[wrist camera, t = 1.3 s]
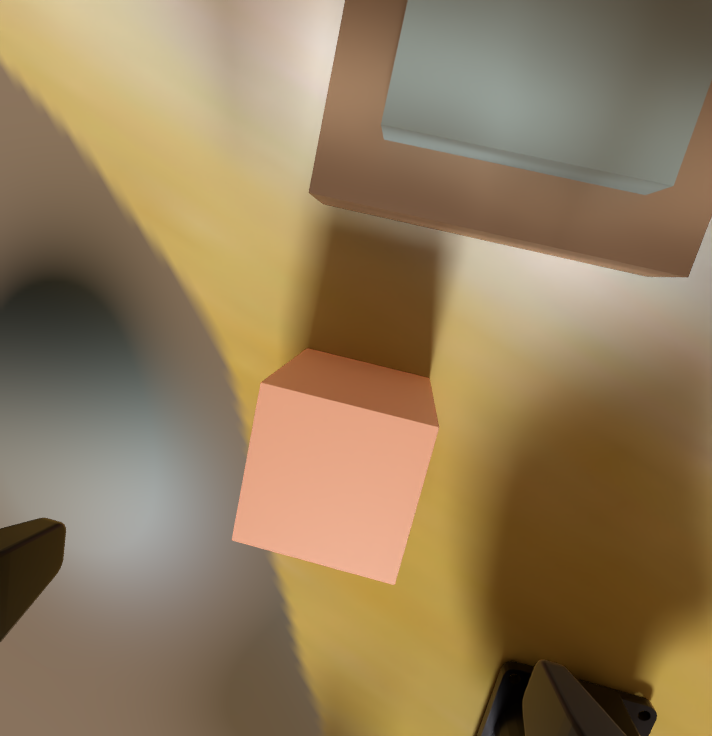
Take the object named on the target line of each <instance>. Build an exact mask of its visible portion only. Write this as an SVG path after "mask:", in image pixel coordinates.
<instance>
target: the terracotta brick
mask: <svg viewBox="0 0 712 736" xmlns="http://www.w3.org/2000/svg"><path fill="white" fill-rule="evenodd" d="M438 430H439V424H438V419H437V414H436V409H435V404H434V399H433V393H432V388H431V383H430V378H427V377H423V376H419V375H415V374H411V373H407V372H403V371H399V370H395V369H391V368H387V367H382V366H378V365H374V364H370V363H366V362H362V361H358V360H354V359H350V358H346V357H342V356H338V355H334V354H330V353H326V352H321V351H317V350H313V349H309V348H307V349H305V350H304V351H303V352H301V353H300V354H299V355H297V356H296V357H295V358H293V359H292V360H291V361H289V362H288V363H286V364H285V365H284V366H282V367H281V368H280V369H278V370H277V371H276V372H274V373H273V374H272V375H270V376H269V377H268V378H266V379H265V380H264V381H262V382H261V384H260V390H259V395H258V400H257V406H256V411H255V417H254V422H253V427H252V433H251V438H250V444H249V449H248V455H247V460H246V465H245V471H244V476H243V482H242V487H241V492H240V498H239V503H238V509H237V514H236V520H235V525H234V530H233V536H232V540H233V541H237V542H240V543H244V544H247V545H251V546H255V547H258V548H262V549H265V550H269V551H273V552H276V553H280V554H283V555H287V556H291V557H294V558H298V559H302V560H305V561H309V562H313V563H316V564H320V565H323V566H327V567H331V568H334V569H338V570H342V571H345V572H349V573H353V574H356V575H360V576H363V577H367V578H371V579H374V580H378V581H382V582H385V583H389V584H392V585H395V582H396V578H397V575H398V571H399V568H400V564H401V561H402V557H403V554H404V550H405V547H406V543H407V540H408V536H409V532H410V529H411V525H412V522H413V518H414V515H415V511H416V508H417V504H418V501H419V497H420V493H421V490H422V486H423V483H424V479H425V476H426V472H427V469H428V465H429V462H430V458H431V455H432V451H433V447H434V444H435V440H436V437H437V433H438Z"/></svg>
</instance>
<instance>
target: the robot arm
mask: <svg viewBox="0 0 712 736" xmlns="http://www.w3.org/2000/svg"><path fill="white" fill-rule="evenodd" d="M65 535H66V527H65V525H64V524H63V523H62V522H59V521H55V520H52V519H48V518H39V519H35V520H31V521H27V522H23V523H20V524H16V525H12V526H9V527H4V528H1V529H0V642H1V641H2V640H3V639H4V637H5V636H6V635H7V634H8V633H9V631H10V630H11V629H12V628H13V627H14V625H15V624H16V623H17V622H18V621H19V619H20V618H21V617H22V616H23V615H24V613H25V612H26V611H27V610H28V608H29V607H30V606H31V605H32V603H33V602H34V601H35V600H36V599H37V598H38V596H39V595H40V594H41V593H42V591H43V590H44V589H45V588H46V586H47V585H48V584H49V583H50V582H51V581H52V579H53V578H54V577H55V576H56V574H57V573H58V571H59V569H60V568H61V565H62V562H63V556H64V546H65ZM511 674H517V675H515V676H510V675H511ZM641 711H642V712H641ZM656 718H657V714H656V711H655V709H654V707H653V706H652V704H651V702H650V701H649V700H647V699H645V698H643V697H639V696H636V695H632V694H628V693H625V692H621V691H618V690H614V689H611V688H607V687H604V686H600V685H597V684H593V683H589V682H586V681H582V680H579V679H576V678H575V677H574V676H573V675H572V674H571V673H570V672H569V671H568V669H567V668H566V667H564V666H563V665H561V664H558V663H555V662H551V661H548V660H544V659H541V660H539V661H538V662H537V663H536V665H535V667H533V666H529V665H526V664H522V663H519V662H514V661H510V662H506V663H505V664H503V666H502V667H501V670H500V672H499V675H498V678H497V681H496V684H495V686H494V689H493V692H492V695H491V697H490V700H489V703H488V706H487V709H486V711H485V714H484V717H483V720H482V722H481V725H480V728H479V731H478V734H477V736H649V734H650V732H651V729H652V727H653V725H654V723H655V721H656Z"/></svg>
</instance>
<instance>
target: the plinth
mask: <svg viewBox="0 0 712 736" xmlns="http://www.w3.org/2000/svg"><path fill="white" fill-rule="evenodd" d="M309 193H310V194H311V195H312V196H314V197H315V198H316V199H317V200H319V201H320V202H321V203H322V204H325V205H330V206H334V207H339V208H343V209H348V210H352V211H357V212H361V213H366V214H370V215H375V216H379V217H383V218H388V219H392V220H397V221H401V222H406V223H410V224H415V225H419V226H424V227H428V228H432V229H437V230H441V231H446V232H450V233H455V234H459V235H464V236H468V237H473V238H477V239H482V240H486V241H490V242H495V243H499V244H504V245H508V246H513V247H517V248H522V249H526V250H531V251H535V252H540V253H544V254H548V255H553V256H557V257H562V258H566V259H571V260H575V261H580V262H584V263H589V264H593V265H598V266H602V267H606V268H611V269H615V270H620V271H624V272H629V273H633V274H638V275H642V276H647V277H688V276H689V274H690V271H691V268H692V266H693V263H694V261H695V258H696V255H697V253H698V250H699V247H700V245H701V242H702V240H703V237H704V234H705V232H706V229H707V227H708V224H709V221H710V219H711V216H712V0H345V4H344V10H343V15H342V20H341V25H340V31H339V36H338V41H337V47H336V52H335V57H334V62H333V68H332V73H331V78H330V83H329V89H328V94H327V99H326V104H325V110H324V115H323V120H322V125H321V131H320V136H319V141H318V147H317V152H316V157H315V162H314V168H313V173H312V178H311V183H310V189H309Z"/></svg>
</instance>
